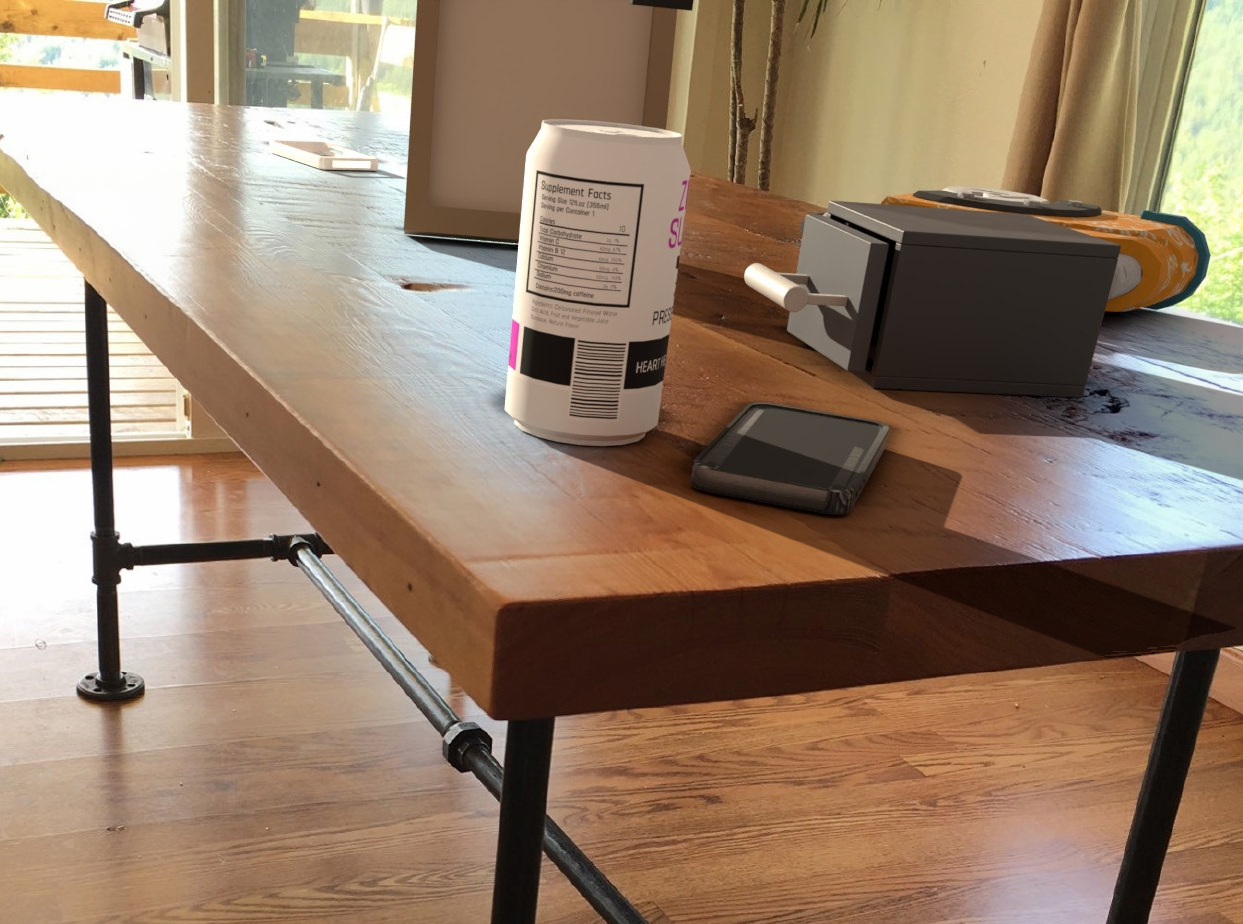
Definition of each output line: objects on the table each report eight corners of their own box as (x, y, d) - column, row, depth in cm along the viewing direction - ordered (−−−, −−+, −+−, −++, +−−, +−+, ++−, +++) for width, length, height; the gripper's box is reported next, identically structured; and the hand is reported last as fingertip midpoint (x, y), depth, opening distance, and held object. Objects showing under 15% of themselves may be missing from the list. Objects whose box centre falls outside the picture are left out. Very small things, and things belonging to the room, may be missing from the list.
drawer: (782, 368, 95) (804, 238, 91) (727, 327, 105) (745, 209, 101) (1042, 380, 98) (1072, 255, 95) (965, 340, 108) (990, 226, 105)
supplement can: (477, 410, 83) (500, 115, 76) (607, 404, 86) (639, 121, 80) (548, 453, 76) (580, 135, 70) (685, 445, 80) (728, 141, 73)
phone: (688, 465, 72) (752, 399, 85) (684, 488, 73) (749, 419, 85) (853, 495, 70) (894, 423, 83) (849, 519, 71) (889, 443, 83)
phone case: (267, 151, 181) (321, 170, 170) (267, 139, 180) (322, 157, 169) (323, 153, 184) (380, 171, 173) (323, 141, 184) (380, 158, 173)
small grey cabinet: (873, 388, 96) (903, 230, 92) (804, 343, 107) (828, 200, 103) (1082, 398, 99) (1122, 245, 94) (994, 352, 110) (1025, 214, 105)
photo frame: (653, 263, 132) (693, -60, 121) (403, 241, 131) (420, -87, 120) (634, 236, 146) (669, -57, 134) (407, 216, 144) (423, -81, 133)
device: (1150, 236, 112) (790, 175, 127) (1120, 348, 116) (774, 277, 131) (1228, 217, 129) (901, 166, 144) (1199, 316, 132) (884, 256, 148)
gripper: (539, -505, 73) (499, -14, 82) (683, -693, 51) (607, 3, 61) (689, -479, 74) (633, 0, 84) (891, -652, 53) (784, 21, 62)
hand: (622, 3), depth 72 cm, fingers open, 13 cm apart
